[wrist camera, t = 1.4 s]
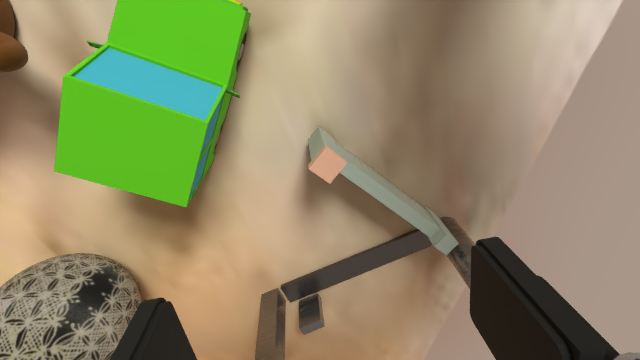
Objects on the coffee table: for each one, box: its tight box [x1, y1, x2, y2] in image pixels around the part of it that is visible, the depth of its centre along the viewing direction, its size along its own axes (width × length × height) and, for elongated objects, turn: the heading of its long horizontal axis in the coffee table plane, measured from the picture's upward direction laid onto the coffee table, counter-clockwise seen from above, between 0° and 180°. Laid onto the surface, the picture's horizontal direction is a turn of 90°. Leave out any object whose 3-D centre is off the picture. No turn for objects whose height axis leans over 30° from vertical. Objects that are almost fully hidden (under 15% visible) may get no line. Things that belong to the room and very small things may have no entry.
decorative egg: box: [0, 253, 142, 360], centre depth 30 cm, size 12×12×15 cm
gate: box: [308, 127, 459, 255], centre depth 30 cm, size 16×2×7 cm, turn 52°
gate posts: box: [255, 217, 475, 360], centre depth 34 cm, size 23×4×11 cm, turn 114°
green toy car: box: [54, 0, 251, 207], centre depth 25 cm, size 10×13×10 cm
